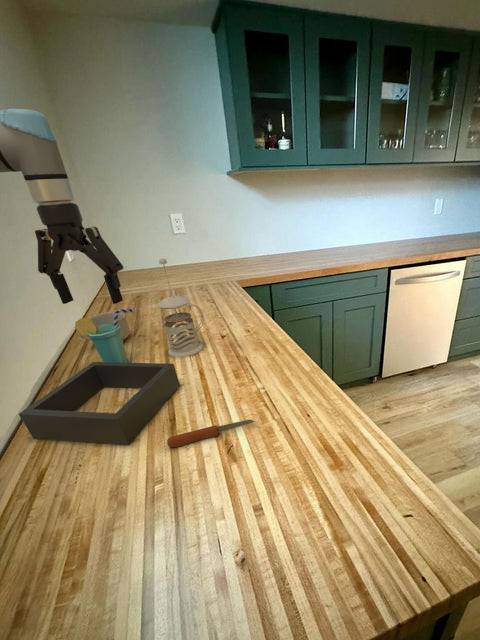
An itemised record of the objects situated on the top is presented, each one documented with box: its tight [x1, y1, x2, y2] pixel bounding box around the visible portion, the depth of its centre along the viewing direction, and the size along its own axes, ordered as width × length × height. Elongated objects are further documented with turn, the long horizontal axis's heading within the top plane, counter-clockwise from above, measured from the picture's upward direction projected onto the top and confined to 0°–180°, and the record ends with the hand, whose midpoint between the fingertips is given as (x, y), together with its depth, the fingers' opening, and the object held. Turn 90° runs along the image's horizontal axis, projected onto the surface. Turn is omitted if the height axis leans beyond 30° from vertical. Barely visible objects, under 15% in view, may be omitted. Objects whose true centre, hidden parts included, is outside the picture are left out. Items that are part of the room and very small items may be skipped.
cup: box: [74, 308, 133, 363], centre depth 86 cm, size 14×8×15 cm, turn 111°
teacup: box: [76, 311, 130, 342], centre depth 102 cm, size 14×11×8 cm
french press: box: [157, 258, 205, 358], centre depth 90 cm, size 10×12×25 cm
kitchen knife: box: [166, 419, 255, 448], centre depth 61 cm, size 16×1×2 cm, turn 109°
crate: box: [18, 361, 181, 446], centre depth 70 cm, size 21×20×6 cm
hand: (92, 302), depth 81 cm, fingers open, 13 cm apart
